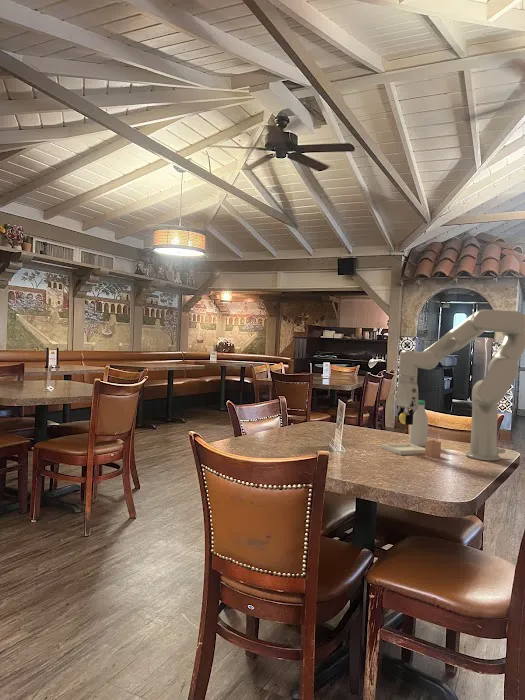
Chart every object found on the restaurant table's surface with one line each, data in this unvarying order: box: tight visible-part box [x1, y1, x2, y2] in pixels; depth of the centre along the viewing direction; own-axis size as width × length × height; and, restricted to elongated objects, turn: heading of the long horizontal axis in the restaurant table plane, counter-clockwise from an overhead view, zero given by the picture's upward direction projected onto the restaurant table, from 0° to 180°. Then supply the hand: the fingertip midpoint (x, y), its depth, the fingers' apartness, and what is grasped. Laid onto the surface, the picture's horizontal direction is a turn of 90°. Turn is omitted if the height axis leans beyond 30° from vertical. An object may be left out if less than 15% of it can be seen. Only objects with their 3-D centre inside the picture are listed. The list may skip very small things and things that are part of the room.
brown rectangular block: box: [424, 439, 442, 458], centre depth 206 cm, size 4×4×6 cm
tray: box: [380, 442, 425, 456], centre depth 214 cm, size 14×14×2 cm
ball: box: [399, 411, 407, 425], centre depth 214 cm, size 5×5×5 cm
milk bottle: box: [408, 399, 429, 447], centre depth 230 cm, size 8×8×20 cm
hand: (404, 422), depth 214 cm, fingers closed on ball, 4 cm apart
